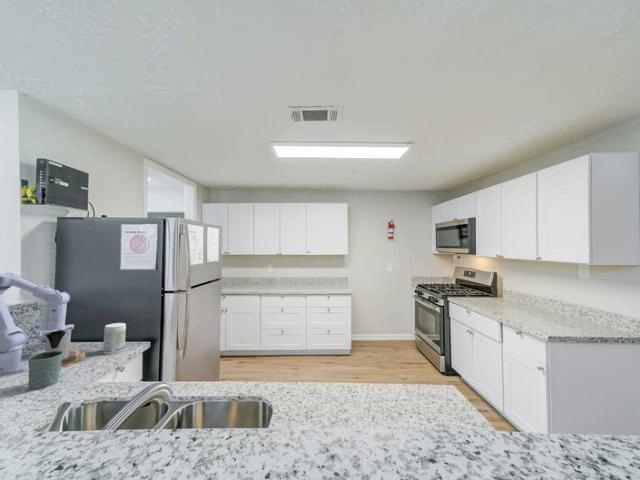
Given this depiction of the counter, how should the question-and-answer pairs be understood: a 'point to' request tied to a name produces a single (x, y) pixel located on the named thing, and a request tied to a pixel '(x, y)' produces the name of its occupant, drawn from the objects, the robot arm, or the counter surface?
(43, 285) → the robot arm
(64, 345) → the grey marbled cylinder
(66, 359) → the board
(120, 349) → the supplement tub
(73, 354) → the birch block
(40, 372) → the green plant pot
